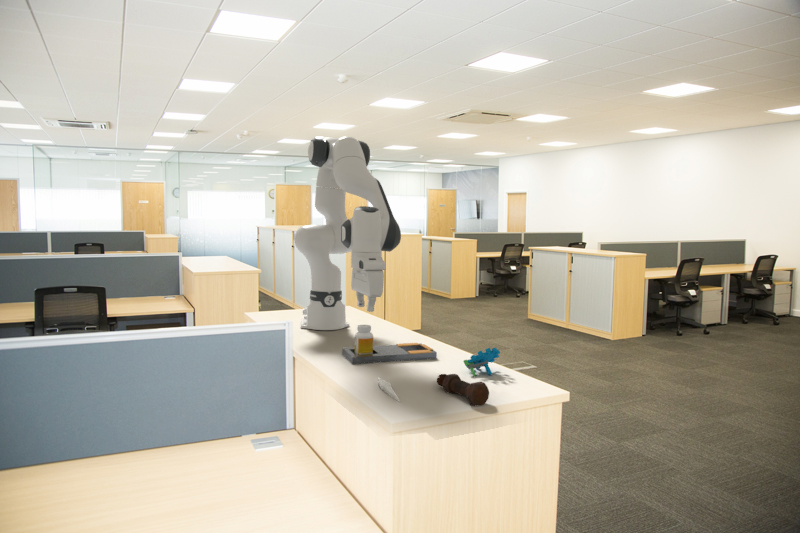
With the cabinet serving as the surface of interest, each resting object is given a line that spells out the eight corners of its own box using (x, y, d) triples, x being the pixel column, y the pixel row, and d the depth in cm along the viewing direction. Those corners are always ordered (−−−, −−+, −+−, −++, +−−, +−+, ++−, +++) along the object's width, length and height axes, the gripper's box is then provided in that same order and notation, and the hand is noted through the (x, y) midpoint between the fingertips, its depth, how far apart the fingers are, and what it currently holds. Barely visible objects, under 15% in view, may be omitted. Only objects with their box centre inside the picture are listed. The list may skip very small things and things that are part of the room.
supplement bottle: (376, 358, 154) (377, 326, 153) (362, 361, 150) (363, 328, 150) (364, 354, 158) (365, 323, 157) (350, 357, 154) (351, 325, 153)
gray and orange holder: (342, 354, 158) (342, 346, 158) (420, 349, 167) (421, 342, 167) (352, 364, 147) (352, 356, 147) (436, 358, 156) (436, 351, 156)
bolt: (443, 394, 129) (482, 411, 116) (429, 386, 127) (467, 403, 114) (453, 372, 130) (492, 387, 118) (439, 364, 128) (478, 378, 115)
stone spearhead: (373, 383, 130) (373, 376, 130) (383, 382, 131) (383, 375, 131) (394, 406, 116) (394, 398, 116) (405, 405, 117) (405, 397, 117)
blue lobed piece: (490, 361, 149) (502, 342, 141) (500, 379, 146) (512, 361, 138) (456, 369, 145) (467, 350, 137) (465, 387, 142) (476, 370, 134)
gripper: (346, 260, 160) (346, 304, 161) (366, 264, 141) (365, 314, 142) (366, 260, 163) (365, 304, 164) (387, 264, 144) (386, 313, 144)
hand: (365, 309), depth 153 cm, fingers open, 8 cm apart
